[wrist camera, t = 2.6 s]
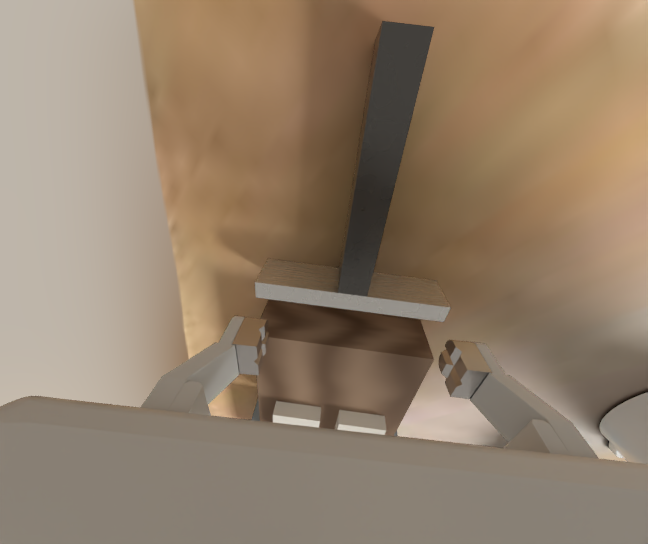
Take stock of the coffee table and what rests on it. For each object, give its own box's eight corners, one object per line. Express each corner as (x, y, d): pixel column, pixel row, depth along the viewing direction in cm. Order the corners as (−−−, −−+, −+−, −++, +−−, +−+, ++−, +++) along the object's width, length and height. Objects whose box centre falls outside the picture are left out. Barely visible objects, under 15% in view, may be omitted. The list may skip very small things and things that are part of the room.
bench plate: (420, 319, 26) (433, 359, 22) (384, 403, 35) (389, 443, 31) (268, 299, 26) (253, 335, 22) (270, 388, 35) (260, 425, 31)
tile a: (384, 415, 27) (386, 430, 26) (375, 437, 30) (376, 451, 29) (339, 409, 27) (338, 423, 26) (333, 431, 30) (333, 445, 29)
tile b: (321, 407, 27) (319, 421, 26) (317, 429, 30) (315, 443, 29) (276, 400, 28) (272, 414, 26) (276, 423, 30) (273, 437, 29)
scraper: (262, 28, 15) (238, 4, 12) (528, 59, 15) (581, 44, 11) (268, 272, 25) (255, 297, 21) (430, 293, 24) (443, 322, 21)
